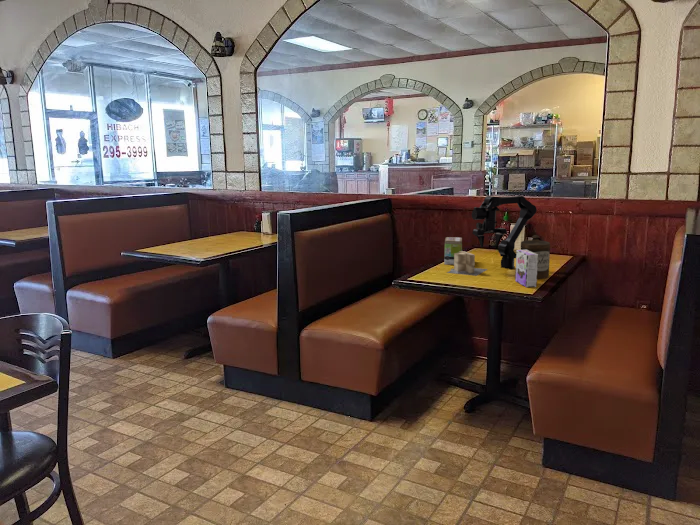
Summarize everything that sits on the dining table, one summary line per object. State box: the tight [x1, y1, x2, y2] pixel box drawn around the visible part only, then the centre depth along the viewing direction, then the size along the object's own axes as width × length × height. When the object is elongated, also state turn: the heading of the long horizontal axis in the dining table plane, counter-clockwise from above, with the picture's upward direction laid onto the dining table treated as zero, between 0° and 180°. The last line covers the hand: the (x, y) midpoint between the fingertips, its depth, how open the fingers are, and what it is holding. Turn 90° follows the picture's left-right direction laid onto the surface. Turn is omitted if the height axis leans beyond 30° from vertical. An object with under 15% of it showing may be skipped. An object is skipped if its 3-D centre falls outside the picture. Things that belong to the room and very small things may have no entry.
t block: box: [453, 250, 476, 273], centre depth 306 cm, size 8×12×10 cm, turn 18°
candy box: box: [515, 249, 538, 288], centre depth 276 cm, size 14×6×16 cm, turn 5°
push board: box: [446, 267, 488, 277], centre depth 307 cm, size 17×18×2 cm
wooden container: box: [520, 234, 551, 280], centre depth 292 cm, size 15×15×22 cm
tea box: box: [443, 236, 463, 265], centre depth 331 cm, size 15×10×15 cm, turn 168°
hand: (489, 246), depth 309 cm, fingers open, 9 cm apart
